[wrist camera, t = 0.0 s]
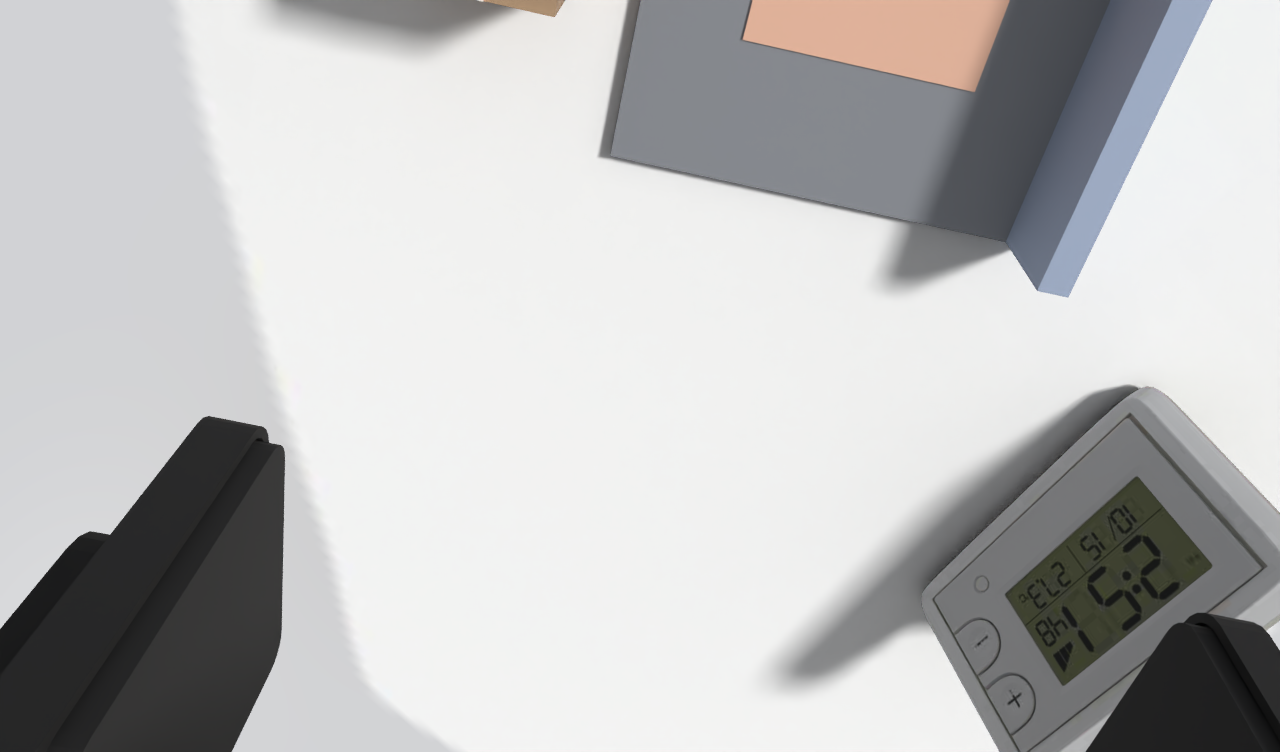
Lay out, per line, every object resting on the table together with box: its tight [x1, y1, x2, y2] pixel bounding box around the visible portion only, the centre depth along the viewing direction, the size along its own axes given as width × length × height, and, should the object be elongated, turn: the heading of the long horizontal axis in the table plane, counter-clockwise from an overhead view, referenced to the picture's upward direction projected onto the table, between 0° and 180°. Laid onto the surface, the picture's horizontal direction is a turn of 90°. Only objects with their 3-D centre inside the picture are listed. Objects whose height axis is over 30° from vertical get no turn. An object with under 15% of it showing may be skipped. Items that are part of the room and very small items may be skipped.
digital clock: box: [921, 387, 1280, 752], centre depth 44 cm, size 16×9×11 cm, turn 138°
